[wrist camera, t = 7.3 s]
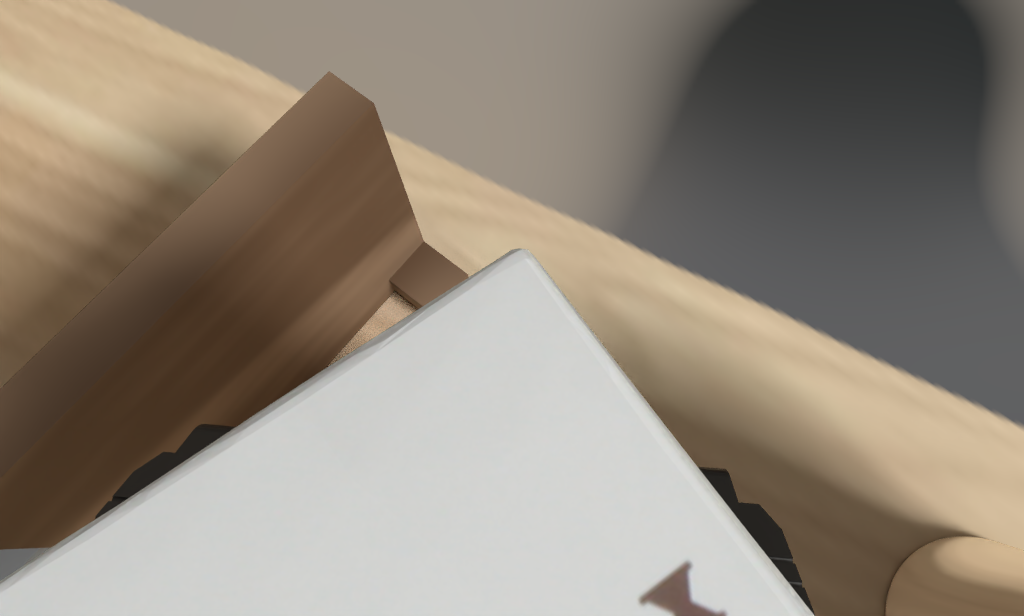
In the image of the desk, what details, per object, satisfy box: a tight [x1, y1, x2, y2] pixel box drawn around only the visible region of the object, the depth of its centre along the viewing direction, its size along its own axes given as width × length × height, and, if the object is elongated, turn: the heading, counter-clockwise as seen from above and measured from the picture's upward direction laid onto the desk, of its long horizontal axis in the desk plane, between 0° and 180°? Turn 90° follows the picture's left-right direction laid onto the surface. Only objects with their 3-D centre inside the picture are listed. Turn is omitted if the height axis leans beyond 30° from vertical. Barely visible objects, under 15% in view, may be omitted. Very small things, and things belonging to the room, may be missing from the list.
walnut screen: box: [0, 72, 469, 550], centre depth 21 cm, size 6×14×10 cm, turn 141°
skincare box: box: [0, 249, 815, 616], centre depth 11 cm, size 6×4×12 cm
